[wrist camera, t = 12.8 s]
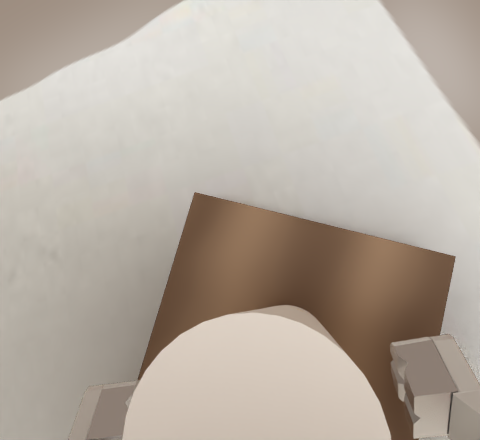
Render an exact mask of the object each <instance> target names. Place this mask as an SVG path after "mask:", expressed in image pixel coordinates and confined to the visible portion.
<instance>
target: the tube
mask: <svg viewBox="0 0 480 440" xmlns="http://www.w3.org/2000/svg"><path fill="white" fill-rule="evenodd" d="M122 440H391V435H390V430H389V428H388V425H387V422H386V419H385V416H384V413H383V410H382V407H381V404H380V402H379V400H378V398H377V396H376V395H375V393H374V391H373V389H372V387H371V386H370V384H369V382H368V380H367V379H366V377H365V375H364V374H363V373H362V372H361V370H360V369H359V368H358V367H357V366H356V365H355V363H354V362H353V361H352V360H351V359H350V357H349V356H348V355H347V354H346V353H345V351H344V350H343V349H342V348H341V347H340V346H339V344H338V343H337V342H336V341H335V340H334V338H333V337H332V336H331V335H330V334H329V333H328V331H327V330H326V329H325V328H324V327H323V326H322V324H321V323H320V322H319V321H318V320H317V319H316V318H315V317H314V316H313V315H312V314H310V313H309V312H308V311H306V310H304V309H302V308H299V307H296V306H291V305H279V306H273V307H267V308H263V309H257V310H251V311H245V312H240V313H234V314H228V315H225V316H221V317H218V318H215V319H211V320H208V321H205V322H202V323H200V324H199V325H197V326H195V327H193V328H191V329H189V330H188V331H186V332H184V333H182V334H180V335H179V336H178V337H177V338H176V339H175V340H173V341H172V342H171V343H170V344H169V345H168V346H166V347H165V348H164V349H163V350H162V351H161V352H160V353H159V354H158V355H157V357H156V358H155V359H154V361H153V362H152V363H151V364H150V366H149V367H148V368H147V369H146V371H145V372H144V374H143V376H142V378H141V380H140V382H139V384H138V385H137V387H136V389H135V391H134V393H133V396H132V399H131V402H130V405H129V408H128V411H127V414H126V419H125V425H124V431H123V438H122Z"/></svg>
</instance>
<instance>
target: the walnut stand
mask: <svg viewBox="0 0 480 440" xmlns="http://www.w3.org/2000/svg"><path fill="white" fill-rule="evenodd" d="M454 262H455V256H451V255H447V254H443V253H439V252H435V251H431V250H427V249H423V248H419V247H415V246H411V245H407V244H403V243H399V242H395V241H391V240H386V239H382V238H378V237H374V236H370V235H366V234H362V233H358V232H354V231H350V230H346V229H342V228H338V227H334V226H330V225H326V224H322V223H318V222H314V221H309V220H305V219H301V218H297V217H293V216H289V215H285V214H281V213H277V212H273V211H269V210H265V209H261V208H257V207H253V206H249V205H245V204H241V203H237V202H232V201H228V200H224V199H220V198H216V197H212V196H208V195H204V194H200V193H196V192H195V193H194V196H193V200H192V203H191V206H190V209H189V213H188V216H187V219H186V223H185V226H184V229H183V232H182V236H181V239H180V242H179V246H178V249H177V252H176V255H175V259H174V262H173V265H172V268H171V272H170V275H169V278H168V282H167V285H166V288H165V291H164V295H163V298H162V301H161V305H160V308H159V311H158V314H157V318H156V321H155V324H154V327H153V331H152V334H151V337H150V341H149V344H148V347H147V350H146V354H145V357H144V360H143V364H142V367H141V370H140V373H139V377H138V380H141V378H142V376H143V374H144V372H145V371H146V369H147V368H148V367H149V366H150V364H151V363H152V362H153V361H154V359H155V358H156V357H157V355H158V354H159V353H160V352H161V351H162V350H163V349H164V348H165V347H166V346H168V345H169V344H170V343H171V342H172V341H173V340H175V339H176V338H177V337H178V336H179V335H180V334H182V333H184V332H186V331H188V330H189V329H191V328H193V327H195V326H197V325H199V324H200V323H202V322H205V321H208V320H211V319H215V318H218V317H221V316H225V315H228V314H234V313H240V312H245V311H251V310H257V309H263V308H267V307H273V306H279V305H291V306H296V307H299V308H302V309H304V310H306V311H308V312H309V313H310V314H312V315H313V316H314V317H315V318H316V319H317V320H318V321H319V322H320V323H321V324H322V326H323V327H324V328H325V329H326V330H327V331H328V333H329V334H330V335H331V336H332V337H333V338H334V340H335V341H336V342H337V343H338V344H339V346H340V347H341V348H342V349H343V350H344V351H345V353H346V354H347V355H348V356H349V357H350V359H351V360H352V361H353V362H354V363H355V365H356V366H357V367H358V368H359V369H360V370H361V372H362V373H363V374H364V375H365V377H366V379H367V380H368V382H369V384H370V386H371V387H372V389H373V391H374V393H375V395H376V396H377V398H378V400H379V402H380V404H381V407H382V410H383V413H384V416H385V419H386V422H387V425H388V428H389V430H390V435H391V440H419V438H416V439H413V436H412V433H411V431H410V428H409V425H408V423H407V420H406V417H405V415H404V402H403V401H402V400H400V399H399V398H398V395H397V392H396V389H395V386H394V383H393V378H392V373H391V361H392V360H393V358H392V355H391V352H390V345H391V343H392V342H399V341H405V340H411V339H417V338H423V337H433V336H440V331H441V326H442V321H443V316H444V311H445V306H446V301H447V297H448V292H449V287H450V282H451V277H452V272H453V267H454Z"/></svg>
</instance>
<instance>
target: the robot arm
mask: <svg viewBox="0 0 480 440" xmlns="http://www.w3.org/2000/svg"><path fill="white" fill-rule="evenodd" d="M390 352H391V355H392V358H393V360H392V361H391V373H392V378H393V383H394V386H395V389H396V392H397V395H398V398H399V399H400V400H402V401H403V402H404V415H405V417H406V420H407V423H408V425H409V428H410V431H411V433H412V436H413V439H416V438H427V437H438V436H448V438H449V439H450V440H480V384H479V382H478V380H477V379H476V377H475V375H474V373H473V371H472V370H471V368H470V366H469V364H468V363H467V361H466V359H465V357H464V356H463V354H462V352H461V350H460V348H459V347H458V345H457V343H456V341H455V340H454V338H453V337H452V336H451V335H450V334H446V335H440V336H433V337H423V338H417V339H411V340H405V341H399V342H392V343H391V345H390ZM139 382H140V380H137V381H128V382H120V383H112V384H103V385H96V386H89V387H88V389H87V390H86V391H85V393H84V396H83V398H82V401H81V404H80V407H79V410H78V413H77V416H76V419H75V422H74V424H73V427H72V430H71V433H70V436H69V439H68V440H122V438H123V431H124V425H125V419H126V414H127V411H128V408H129V405H130V402H131V399H132V396H133V393H134V391H135V389H136V387H137V385H138V384H139Z"/></svg>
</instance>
